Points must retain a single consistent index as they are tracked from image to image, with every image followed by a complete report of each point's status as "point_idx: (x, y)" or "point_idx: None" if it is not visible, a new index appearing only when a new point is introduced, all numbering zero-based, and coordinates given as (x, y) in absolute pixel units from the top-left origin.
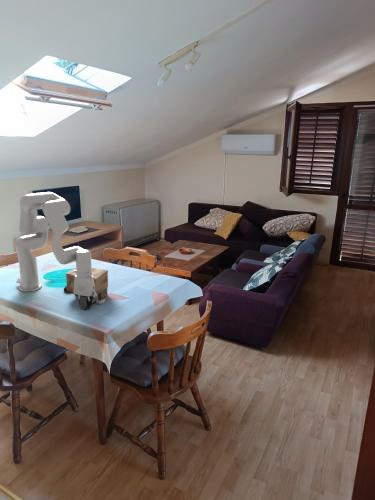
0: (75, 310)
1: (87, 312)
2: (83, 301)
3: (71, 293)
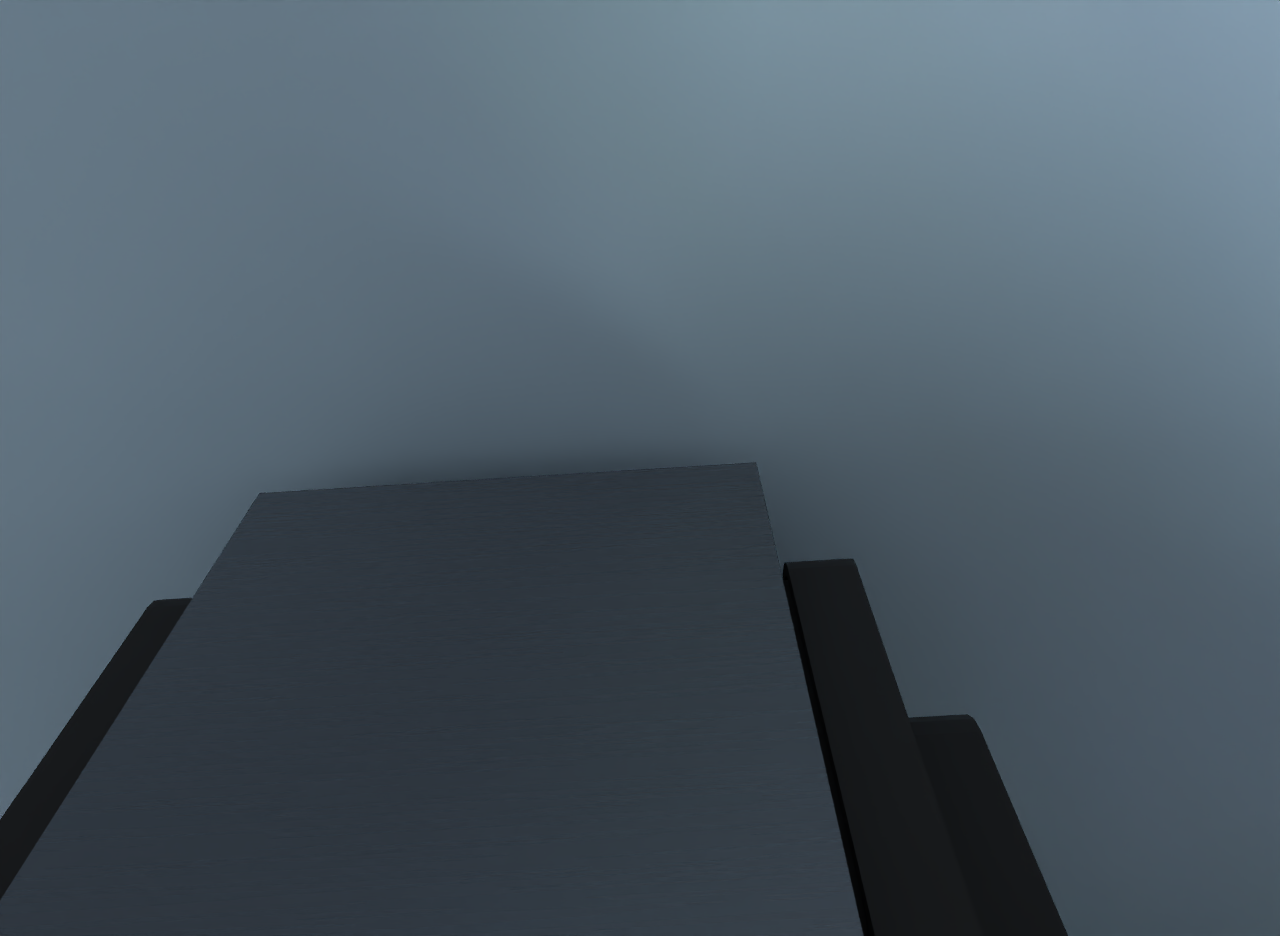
0: (948, 192)
1: (87, 289)
2: (390, 852)
3: None
